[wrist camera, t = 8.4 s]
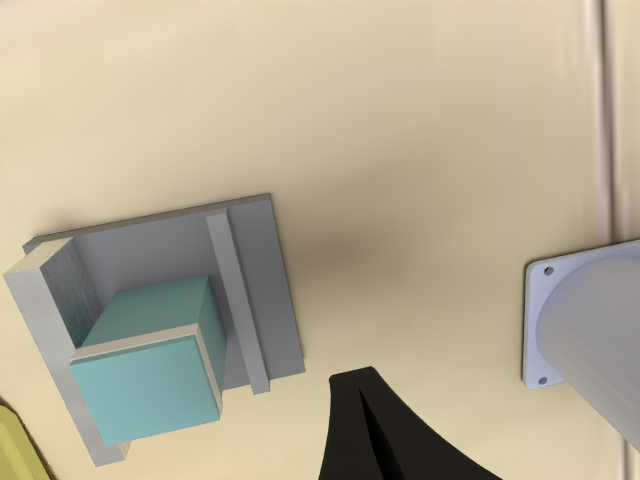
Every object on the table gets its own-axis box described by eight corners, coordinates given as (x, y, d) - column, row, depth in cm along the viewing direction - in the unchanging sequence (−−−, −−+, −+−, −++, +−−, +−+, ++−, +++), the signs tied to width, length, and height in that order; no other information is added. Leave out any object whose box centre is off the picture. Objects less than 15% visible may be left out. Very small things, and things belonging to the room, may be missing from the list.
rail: (73, 236, 17) (39, 267, 14) (142, 408, 21) (125, 460, 18) (42, 242, 17) (2, 274, 14) (117, 413, 21) (95, 466, 18)
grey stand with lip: (269, 193, 19) (270, 204, 17) (303, 359, 22) (307, 382, 21) (34, 237, 18) (11, 254, 16) (106, 403, 21) (94, 430, 20)
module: (209, 272, 19) (194, 337, 14) (228, 340, 20) (221, 421, 15) (113, 291, 18) (66, 365, 14) (139, 360, 20) (105, 447, 15)
